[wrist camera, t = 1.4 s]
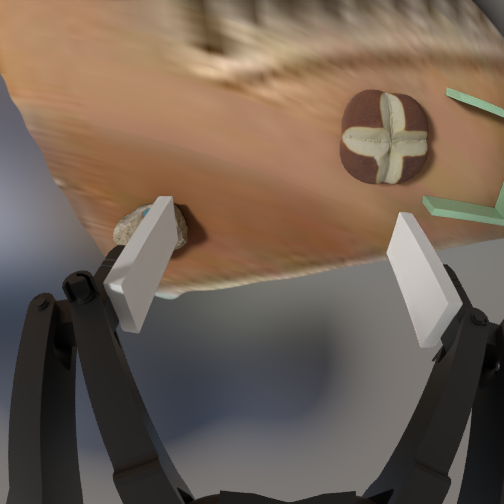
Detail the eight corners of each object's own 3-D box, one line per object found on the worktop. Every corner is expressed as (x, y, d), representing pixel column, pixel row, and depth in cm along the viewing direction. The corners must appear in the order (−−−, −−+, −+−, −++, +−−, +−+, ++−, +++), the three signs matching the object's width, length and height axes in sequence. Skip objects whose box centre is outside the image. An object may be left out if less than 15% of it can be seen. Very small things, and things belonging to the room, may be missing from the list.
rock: (199, 231, 42) (192, 250, 39) (143, 258, 46) (133, 276, 43) (168, 188, 39) (157, 204, 35) (113, 221, 42) (100, 238, 39)
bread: (331, 172, 35) (338, 190, 32) (343, 81, 29) (354, 86, 25) (412, 183, 35) (427, 202, 31) (430, 100, 28) (450, 109, 24)
